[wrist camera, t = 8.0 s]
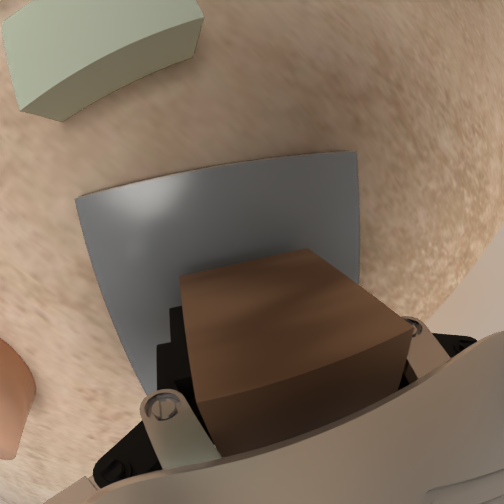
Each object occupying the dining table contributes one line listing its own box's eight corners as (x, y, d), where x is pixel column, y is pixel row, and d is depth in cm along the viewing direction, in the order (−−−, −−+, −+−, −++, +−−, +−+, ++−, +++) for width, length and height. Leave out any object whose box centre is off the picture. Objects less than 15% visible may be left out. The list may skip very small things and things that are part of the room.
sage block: (162, -8, 8) (164, -59, 5) (193, 57, 10) (204, 16, 6) (40, 53, 8) (0, 23, 4) (63, 122, 9) (20, 111, 5)
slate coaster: (346, 151, 13) (356, 151, 12) (346, 352, 17) (352, 359, 16) (80, 196, 10) (74, 198, 9) (156, 404, 14) (157, 414, 14)
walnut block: (307, 247, 11) (414, 327, 6) (311, 346, 13) (380, 439, 8) (179, 276, 10) (196, 402, 5) (207, 375, 12) (238, 492, 7)
